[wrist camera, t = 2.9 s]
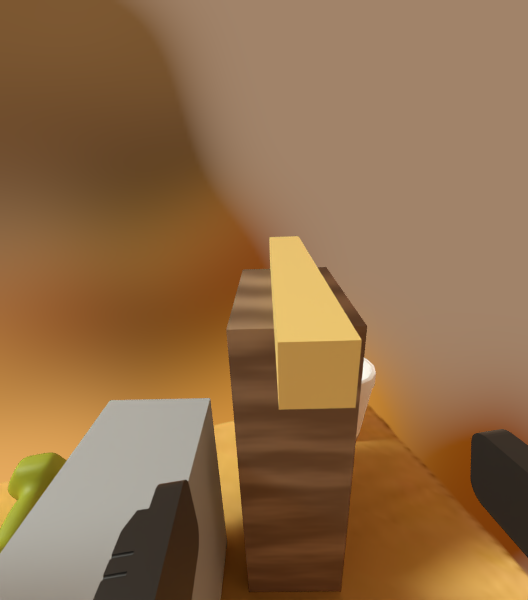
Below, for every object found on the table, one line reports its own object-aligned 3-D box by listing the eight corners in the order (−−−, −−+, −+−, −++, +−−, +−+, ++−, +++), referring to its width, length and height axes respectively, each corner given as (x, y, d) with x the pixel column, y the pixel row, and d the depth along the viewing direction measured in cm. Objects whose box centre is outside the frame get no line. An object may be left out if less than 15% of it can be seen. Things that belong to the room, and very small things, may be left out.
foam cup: (319, 451, 50) (322, 386, 46) (309, 412, 59) (311, 353, 54) (376, 448, 51) (385, 382, 46) (358, 409, 59) (364, 351, 54)
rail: (355, 407, 14) (361, 340, 13) (278, 409, 14) (277, 342, 13) (298, 264, 38) (298, 236, 37) (270, 265, 38) (269, 237, 37)
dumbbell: (28, 618, 32) (5, 576, 29) (-59, 639, 31) (-92, 598, 28) (83, 479, 47) (71, 443, 45) (26, 489, 46) (10, 453, 43)
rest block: (201, 773, 23) (154, 610, 15) (71, 773, 23) (-42, 611, 15) (227, 541, 38) (210, 398, 30) (147, 542, 38) (110, 400, 30)
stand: (340, 591, 33) (366, 326, 22) (249, 591, 33) (226, 329, 22) (317, 464, 48) (326, 267, 37) (254, 465, 48) (243, 269, 37)
